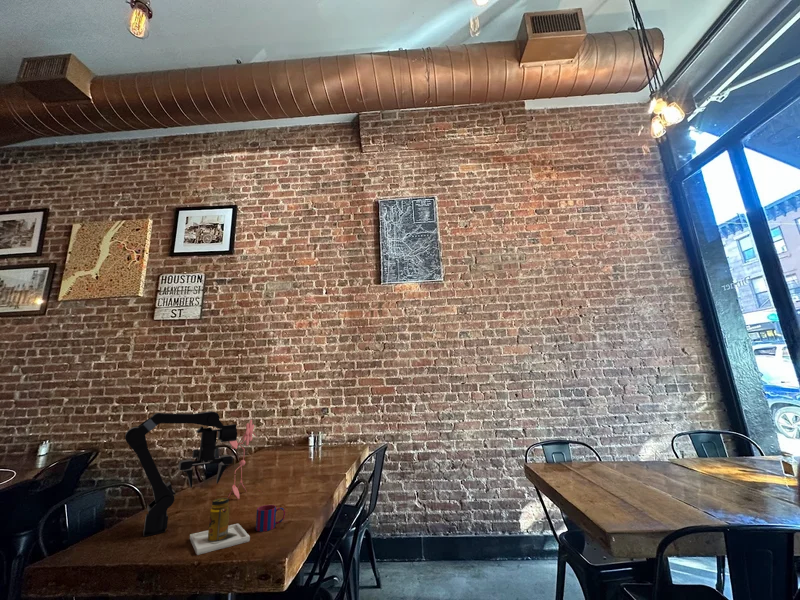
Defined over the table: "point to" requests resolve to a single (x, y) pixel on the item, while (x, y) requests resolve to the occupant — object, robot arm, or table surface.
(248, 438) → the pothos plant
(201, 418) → the robot arm
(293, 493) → the table surface
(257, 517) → the mug
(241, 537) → the tray
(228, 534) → the condiment
